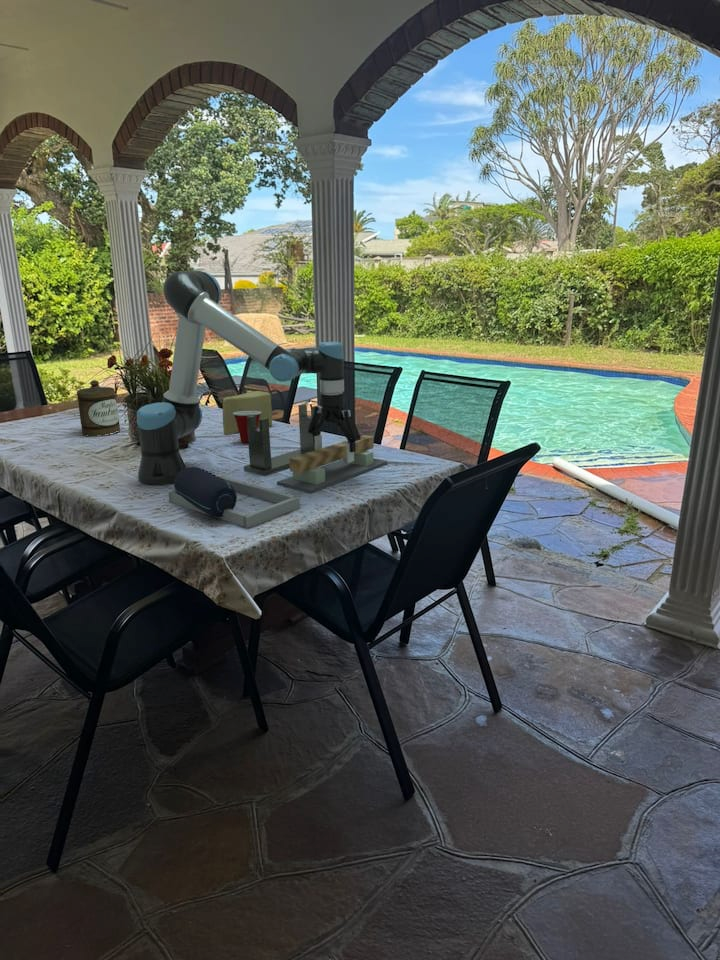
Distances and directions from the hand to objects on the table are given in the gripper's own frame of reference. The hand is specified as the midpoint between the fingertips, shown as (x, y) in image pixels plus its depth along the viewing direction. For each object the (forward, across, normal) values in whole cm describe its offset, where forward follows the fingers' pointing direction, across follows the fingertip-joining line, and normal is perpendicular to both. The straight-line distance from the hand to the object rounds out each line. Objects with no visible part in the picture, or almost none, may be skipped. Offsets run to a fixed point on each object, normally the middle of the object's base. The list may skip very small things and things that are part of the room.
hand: (334, 458), depth 206 cm
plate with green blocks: (+5, 0, 0) cm, 5 cm away
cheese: (+5, +72, -25) cm, 76 cm away
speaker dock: (+5, +4, +39) cm, 40 cm away
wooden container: (+5, +118, +14) cm, 119 cm away
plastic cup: (+5, +55, -12) cm, 57 cm away
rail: (0, 0, 0) cm, 0 cm away
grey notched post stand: (+5, +22, 0) cm, 23 cm away
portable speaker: (+5, +8, +45) cm, 46 cm away
